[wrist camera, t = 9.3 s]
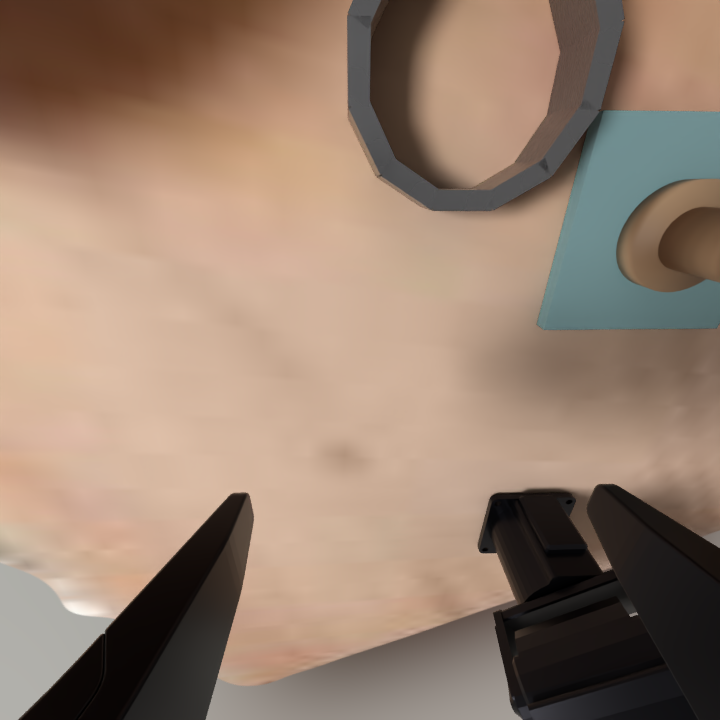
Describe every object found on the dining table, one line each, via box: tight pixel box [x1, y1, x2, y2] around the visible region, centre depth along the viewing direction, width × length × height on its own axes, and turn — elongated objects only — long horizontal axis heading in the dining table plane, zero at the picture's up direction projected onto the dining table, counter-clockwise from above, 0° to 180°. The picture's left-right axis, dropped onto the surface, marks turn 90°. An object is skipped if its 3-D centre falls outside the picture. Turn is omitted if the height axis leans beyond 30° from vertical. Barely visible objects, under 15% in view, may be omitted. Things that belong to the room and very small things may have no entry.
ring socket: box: [347, 0, 625, 211], centre depth 13 cm, size 10×10×2 cm
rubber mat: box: [537, 110, 720, 330], centre depth 17 cm, size 10×10×1 cm
